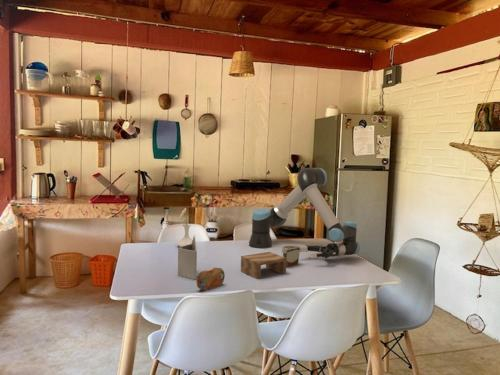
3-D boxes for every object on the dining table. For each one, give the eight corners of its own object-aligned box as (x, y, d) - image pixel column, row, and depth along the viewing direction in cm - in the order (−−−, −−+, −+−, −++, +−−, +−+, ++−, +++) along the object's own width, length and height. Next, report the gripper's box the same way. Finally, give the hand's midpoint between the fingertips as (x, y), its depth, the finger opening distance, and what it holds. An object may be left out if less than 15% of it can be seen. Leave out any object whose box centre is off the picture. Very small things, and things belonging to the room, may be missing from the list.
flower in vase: (180, 244, 258) (181, 205, 256) (197, 245, 257) (198, 206, 254) (173, 248, 245) (174, 208, 243) (191, 250, 244) (192, 209, 241)
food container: (291, 262, 223) (291, 244, 223) (299, 264, 219) (300, 246, 218) (276, 265, 215) (277, 247, 214) (285, 268, 210) (285, 249, 210)
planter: (176, 270, 202) (177, 232, 200) (192, 269, 204) (192, 232, 202) (179, 280, 186) (179, 239, 184) (196, 279, 188) (197, 239, 187)
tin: (199, 292, 171) (200, 273, 170) (194, 290, 173) (195, 271, 172) (224, 284, 182) (225, 266, 182) (220, 283, 184) (220, 265, 184)
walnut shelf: (240, 271, 203) (241, 256, 202) (268, 266, 213) (269, 251, 212) (257, 279, 191) (257, 262, 191) (285, 273, 202) (286, 257, 201)
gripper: (349, 261, 219) (316, 265, 210) (322, 250, 241) (292, 253, 232) (349, 248, 218) (317, 251, 209) (322, 238, 240) (292, 241, 231)
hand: (304, 252), depth 221 cm, fingers open, 13 cm apart
